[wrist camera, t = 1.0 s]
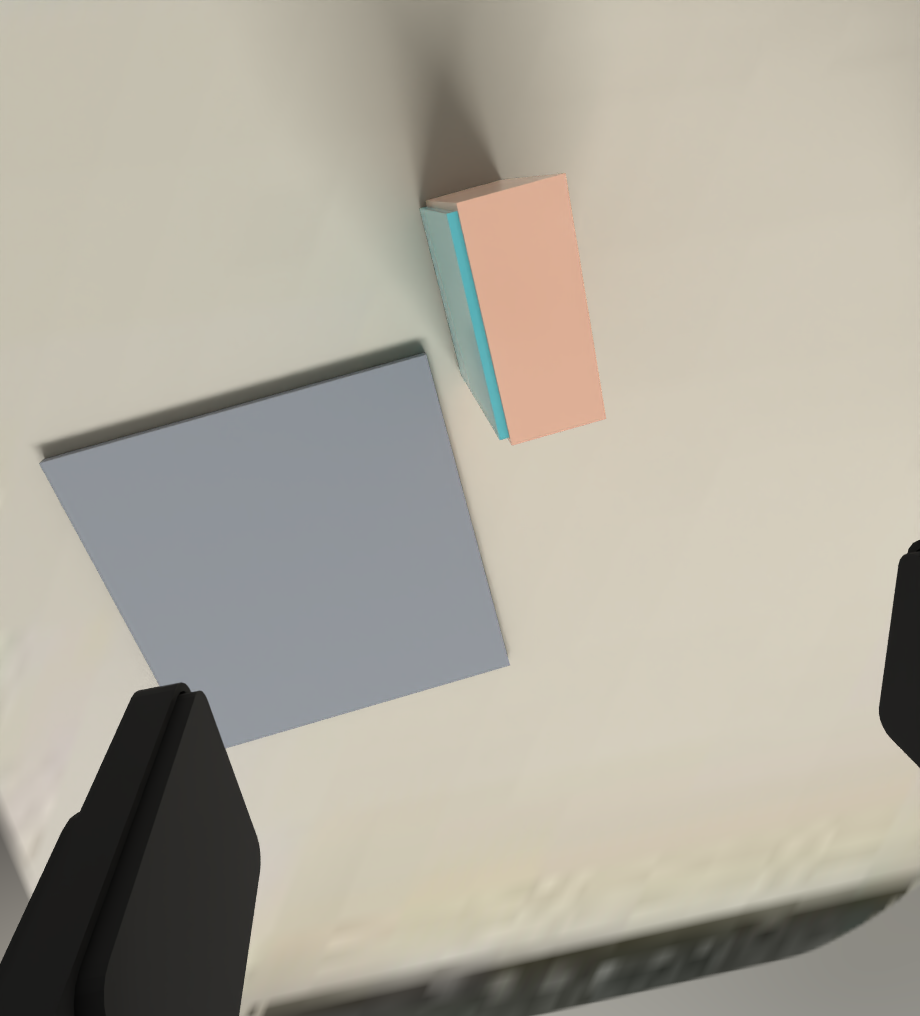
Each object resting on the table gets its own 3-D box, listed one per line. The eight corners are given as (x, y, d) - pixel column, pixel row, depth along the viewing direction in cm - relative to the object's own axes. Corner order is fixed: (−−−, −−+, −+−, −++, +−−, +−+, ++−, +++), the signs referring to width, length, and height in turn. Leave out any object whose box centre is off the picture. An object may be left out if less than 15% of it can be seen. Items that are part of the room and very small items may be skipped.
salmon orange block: (501, 179, 27) (565, 173, 19) (537, 357, 30) (606, 418, 22) (417, 202, 27) (445, 205, 19) (461, 378, 30) (502, 447, 22)
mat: (425, 352, 29) (426, 354, 29) (507, 659, 36) (509, 665, 35) (44, 459, 29) (39, 463, 28) (200, 749, 35) (198, 756, 35)
